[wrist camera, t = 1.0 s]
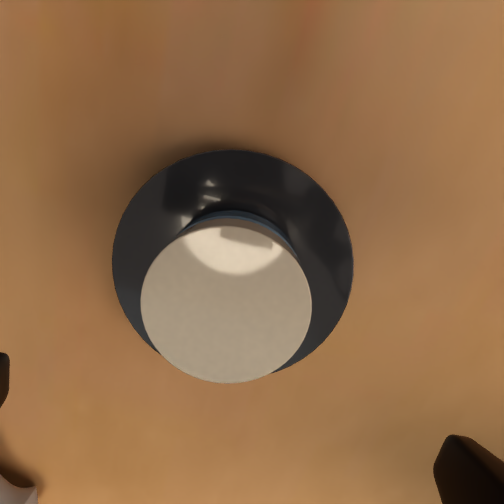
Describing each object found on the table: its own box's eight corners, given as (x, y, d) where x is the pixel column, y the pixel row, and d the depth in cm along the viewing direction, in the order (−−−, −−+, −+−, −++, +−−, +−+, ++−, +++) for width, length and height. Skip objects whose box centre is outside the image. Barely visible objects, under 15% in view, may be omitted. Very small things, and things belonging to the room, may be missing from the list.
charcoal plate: (290, 394, 22) (292, 408, 21) (93, 322, 21) (84, 332, 20) (390, 207, 19) (398, 210, 18) (162, 108, 18) (156, 105, 17)
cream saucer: (268, 375, 18) (270, 405, 16) (135, 326, 17) (118, 350, 15) (330, 251, 16) (341, 266, 14) (184, 191, 16) (172, 197, 14)
